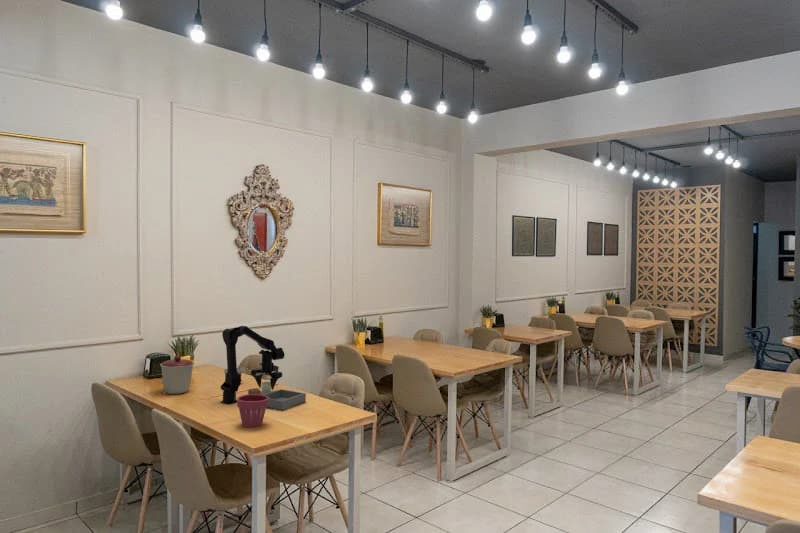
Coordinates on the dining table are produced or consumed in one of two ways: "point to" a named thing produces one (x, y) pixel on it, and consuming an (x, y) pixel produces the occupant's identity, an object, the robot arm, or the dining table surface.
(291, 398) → the tote
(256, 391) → the walnut cube
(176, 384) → the canister
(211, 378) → the dining table surface
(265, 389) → the sage cylinder
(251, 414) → the plant pot
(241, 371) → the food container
